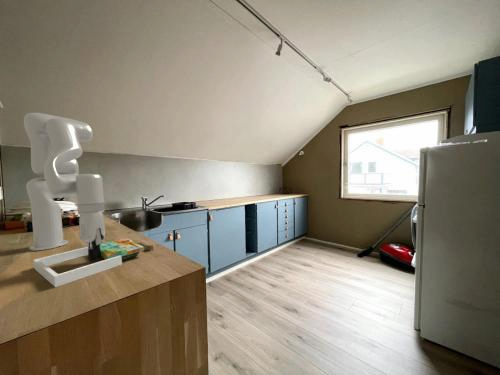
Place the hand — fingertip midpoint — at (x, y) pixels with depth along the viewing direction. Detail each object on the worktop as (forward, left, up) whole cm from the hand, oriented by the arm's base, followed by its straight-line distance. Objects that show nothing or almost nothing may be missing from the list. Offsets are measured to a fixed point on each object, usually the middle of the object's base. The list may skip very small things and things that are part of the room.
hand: (94, 258), depth 74 cm
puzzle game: (+1, +7, -1) cm, 8 cm away
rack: (0, -4, -1) cm, 4 cm away
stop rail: (0, +17, -1) cm, 17 cm away
